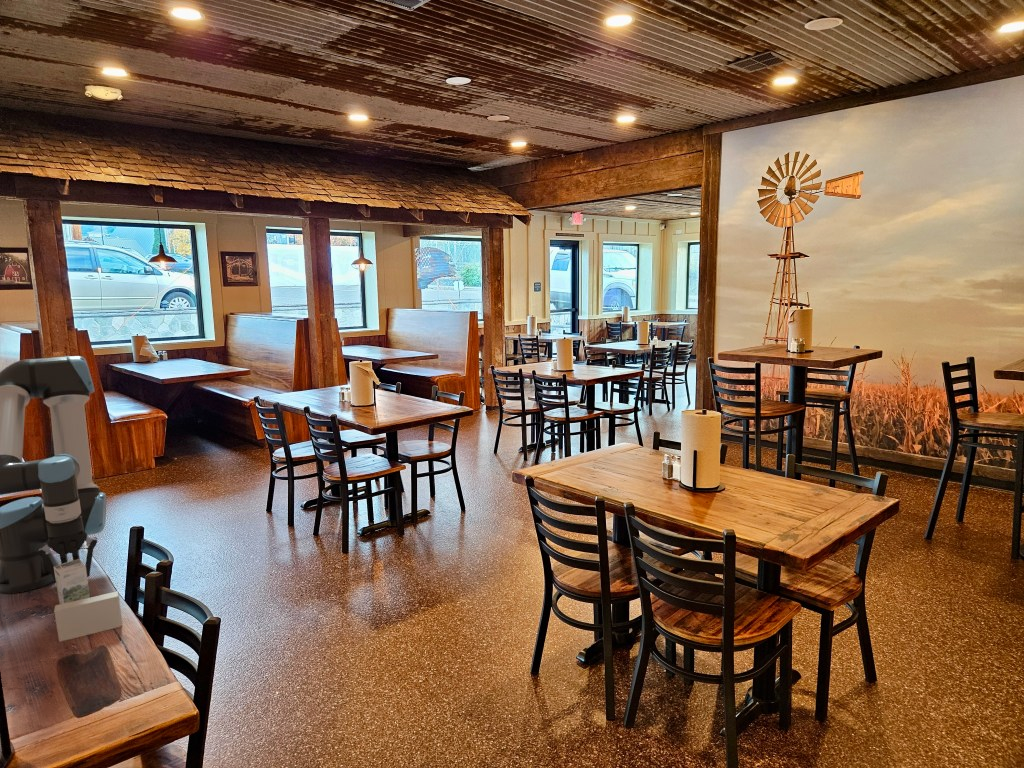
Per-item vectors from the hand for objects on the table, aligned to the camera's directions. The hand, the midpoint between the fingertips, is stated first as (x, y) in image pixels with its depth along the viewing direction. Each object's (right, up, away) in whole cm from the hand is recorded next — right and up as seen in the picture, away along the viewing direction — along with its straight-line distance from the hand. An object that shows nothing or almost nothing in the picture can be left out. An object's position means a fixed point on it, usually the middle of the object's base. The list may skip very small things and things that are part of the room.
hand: (77, 604), depth 173 cm
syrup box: (+2, -2, -4) cm, 5 cm away
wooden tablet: (+22, -7, -29) cm, 37 cm away
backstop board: (+10, -3, -10) cm, 15 cm away
